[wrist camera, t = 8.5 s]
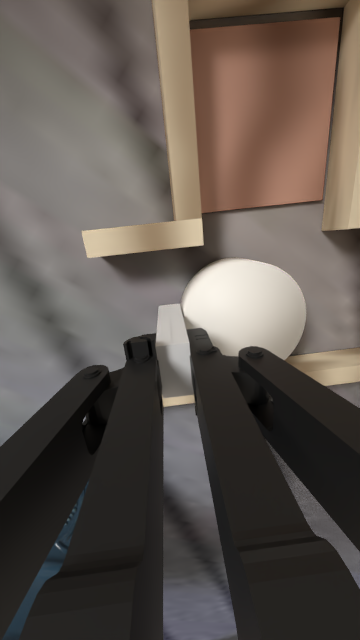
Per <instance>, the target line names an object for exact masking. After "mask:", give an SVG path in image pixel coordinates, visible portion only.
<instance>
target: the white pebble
mask: <svg viewBox="0 0 360 640" xmlns="http://www.w3.org/2000/svg"><path fill="white" fill-rule="evenodd" d="M180 307H181V311H182V315H183V319H184V323H185V327H186V329H194V328H203V329H204V330H206V331H207V334H208V336H209V338H210V340H211V342H212V344H213V346H215V347H217V348H218V349H219V350H220V351H221V353H222V355H226V356H237V357H238V353H239V351H240V350H241V349H242V348H245V347H250V346H258V347H261V348H264V349H267V350H269V351H270V352H272V353H273V354H275V355H276V356H278V357H280V358H281V359H283V360H285V359H286V358H287V357H288V356H289V355H290V354H291V353H292V352H293V350H294V349H295V347H296V346H297V344H298V342H299V341H300V339H301V336H302V334H303V331H304V327H305V323H306V304H305V300H304V296H303V294H302V291H301V289H300V287H299V286H298V284H297V283H296V282H295V280H294V279H293V278H292V277H291V276H290V275H289V274H287V273H286V272H285V271H283V270H282V269H280V268H278V267H276V266H273V265H270V264H267V263H263V262H258V261H254V260H249V259H245V258H236V257H233V258H225V259H220V260H217V261H214V262H212V263H210V264H208V265H206V266H205V267H203V268H202V269H201V270H199V271H198V272H197V273H196V274H195V275H194V276H193V277H192V279H191V280H190V281H189V283H188V284H187V286H186V288H185V290H184V292H183V295H182V298H181V303H180Z"/></svg>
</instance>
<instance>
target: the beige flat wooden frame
mask: <svg viewBox="0 0 360 640" xmlns="http://www.w3.org/2000/svg"><path fill="white" fill-rule="evenodd" d="M341 7H344V13H343V23H342V33H341V43H340V53H339V63H338V73H337V83H336V93H335V103H334V112H333V122H332V132H331V142H330V152H329V162H328V172H327V182H326V192H325V202H324V212H323V222H322V231H326V230H343V229H354V228H360V0H152V10H153V19H154V29H155V39H156V49H157V58H158V68H159V78H160V87H161V97H162V107H163V117H164V126H165V136H166V146H167V156H168V165H169V175H170V185H171V195H172V204H173V214H174V221H172V222H162V223H153V224H144V225H134V226H125V227H116V228H106V229H97V230H88V231H81V232H82V236H83V240H84V245H85V249H86V253H87V257H88V258H92V257H101V256H110V255H119V254H128V253H137V252H146V251H155V250H164V249H173V248H182V247H191V246H201V245H204V244H203V229H202V213H206V212H216V211H225V210H234V209H244V208H253V207H263V206H272V205H281V204H291V203H300V202H309V201H319V200H322V199H323V188H324V178H325V168H326V158H327V147H328V137H329V127H330V116H331V106H332V96H333V86H334V75H335V65H336V55H337V45H338V34H339V24H340V17H334V18H322V19H310V20H298V21H287V22H275V23H263V24H251V25H240V26H228V27H216V28H204V29H193V30H190V28H189V20H199V19H210V18H222V17H234V16H246V15H258V14H270V13H282V12H294V11H306V10H317V9H329V8H341ZM284 361H286V362H287V363H289V364H291V365H292V366H294V367H295V368H297V369H298V370H300V371H302V372H303V373H305V374H306V375H308V376H309V377H311V378H313V379H314V380H316V381H317V382H319V383H320V384H322V385H324V386H328V385H336V384H344V383H351V382H359V381H360V348H352V349H344V350H336V351H328V352H320V353H312V354H304V355H296V356H288V357H287V358H286V359H285V360H284ZM162 399H163V407H166V406H173V405H181V404H189V403H195V400H194V395H188V396H179V397H171V398H163V395H162Z"/></svg>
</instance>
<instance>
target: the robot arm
mask: <svg viewBox="0 0 360 640" xmlns="http://www.w3.org/2000/svg"><path fill="white" fill-rule="evenodd" d="M123 345H124V350H125V355H126V360H127V361H126V364H125V367H124V368H122V369H119V370H116V371H113V372H109V370H108V367H106V366H104V365H93V366H89V367H87V368H85V369H83V370H81V371H80V372H79V373H77V374H76V375H75V376H74V377H73V378H72V379H71V380H70V381H69V382H68V383H67V384H66V385H65V386H64V387H63V388H62V389H60V390H59V391H58V392H57V393H56V394H55V395H54V396H53V397H52V398H51V399H50V400H49V401H48V402H47V403H46V404H45V405H44V406H43V407H42V408H41V409H40V410H38V411H37V412H36V413H35V414H34V415H33V416H32V417H31V418H30V419H29V420H28V421H27V422H26V423H25V424H24V425H23V426H22V427H21V428H20V429H19V430H18V431H16V432H15V433H14V434H13V435H12V436H11V437H10V438H9V439H8V440H7V441H6V442H5V443H4V444H3V445H2V446H1V447H0V640H2V638H3V637H4V635H5V633H6V631H7V629H8V627H9V626H10V624H11V622H12V620H13V618H14V616H15V615H16V613H17V611H18V609H19V607H20V605H21V604H22V602H23V600H24V598H25V596H26V594H27V593H28V591H29V589H30V587H31V585H32V583H33V582H34V580H35V578H36V576H37V574H38V572H39V571H40V569H41V567H42V565H43V563H44V561H45V560H46V558H47V556H48V554H49V552H50V550H51V548H52V547H53V545H54V543H55V541H56V539H57V537H58V536H59V534H60V532H61V530H62V528H63V526H64V525H65V523H66V521H67V519H68V517H69V515H70V514H71V512H72V510H73V508H74V506H75V504H76V503H77V501H78V499H79V497H80V495H81V493H82V492H83V490H84V488H85V486H86V484H87V482H88V481H89V483H88V486H87V489H86V493H85V496H84V499H83V502H82V505H81V509H80V512H79V515H78V518H77V521H76V525H75V528H74V531H73V534H72V537H71V541H70V544H69V547H68V550H67V553H66V557H65V559H64V562H63V564H62V567H61V568H60V570H59V572H58V573H57V574H55V575H54V576H52V577H51V578H49V579H48V580H46V581H45V583H44V584H43V586H42V587H41V589H40V590H39V592H38V593H37V595H36V598H35V600H34V602H33V604H32V607H31V609H30V611H29V614H28V616H27V619H26V621H25V624H24V627H23V629H22V632H21V635H20V638H19V640H163V399H162V395H163V398H171V397H179V396H188V395H194V400H195V411H196V415H197V417H198V422H199V428H200V433H201V438H202V444H203V449H204V455H205V460H206V465H207V471H208V476H209V481H210V487H211V492H212V498H213V503H214V508H215V514H216V519H217V524H218V530H219V535H220V541H221V546H222V551H223V557H224V562H225V567H226V573H227V578H228V583H229V589H230V594H231V600H232V605H233V610H234V616H235V622H236V628H237V635H238V640H360V589H359V587H358V586H357V584H356V582H355V580H354V578H353V577H352V575H351V573H350V571H349V569H348V568H347V566H346V565H345V563H344V562H343V560H342V558H341V557H340V555H339V554H338V552H337V551H336V549H335V548H334V547H333V546H332V545H331V544H330V543H329V542H328V541H327V540H326V539H323V538H321V537H318V536H316V535H315V534H314V532H313V531H312V530H311V528H310V527H309V525H308V523H307V521H306V519H305V517H304V515H303V513H302V511H301V509H300V508H299V506H298V504H297V502H296V500H295V498H294V496H293V494H292V492H291V490H290V488H289V486H288V484H287V482H286V480H285V478H284V476H283V474H282V472H281V470H280V468H279V466H278V464H277V462H276V460H275V458H274V456H273V454H272V452H271V450H270V448H269V446H268V444H267V442H266V440H267V441H268V442H269V443H270V445H271V446H272V447H273V448H274V449H275V451H276V452H277V453H278V454H279V455H280V457H281V458H282V459H283V460H284V461H285V463H286V464H287V465H288V466H289V467H290V469H291V470H292V471H293V472H294V473H295V475H296V476H297V477H298V478H299V479H300V481H301V482H302V483H303V484H304V485H305V487H306V488H307V489H308V490H309V491H310V493H311V494H312V495H313V496H314V497H315V499H316V500H317V501H318V502H319V503H320V505H321V506H322V507H323V508H324V509H325V511H326V512H327V513H328V514H329V515H330V516H331V518H332V519H333V520H334V521H335V522H336V524H337V525H338V526H339V527H340V528H341V530H342V531H343V532H344V533H345V534H346V536H347V537H348V538H349V539H350V540H351V542H352V543H353V544H354V545H355V546H356V548H357V549H358V550H359V551H360V408H358V407H357V406H355V405H353V404H352V403H350V402H349V401H347V400H346V399H344V398H342V397H341V396H339V395H338V394H336V393H335V392H333V391H331V390H330V389H328V388H327V387H325V386H324V385H322V384H320V383H319V382H317V381H316V380H314V379H313V378H311V377H309V376H308V375H306V374H305V373H303V372H302V371H300V370H298V369H297V368H295V367H294V366H292V365H291V364H289V363H287V362H286V361H284V360H283V359H281V358H280V357H278V356H276V355H275V354H273V353H272V352H270V351H269V350H267V349H264V348H261V347H258V346H250V347H245V348H242V349H241V350H240V351H239V353H238V357H237V356H226V355H222V353H221V351H220V350H219V349H218V348H217V347H215V346H213V344H212V342H211V340H210V338H209V336H208V334H207V331H206V330H204V329H203V328H194V329H186V327H185V323H184V319H183V315H182V311H181V307H180V304H171V305H162V306H159V310H158V322H157V333H155V334H146V335H142V336H138V337H133V338H131V339H128V340H127V341H125V342H124V344H123ZM270 395H271V396H270ZM85 416H86V420H85V421H84V422H83V419H84V417H85ZM264 437H265V438H264ZM265 439H266V440H265ZM89 479H90V480H89Z"/></svg>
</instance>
